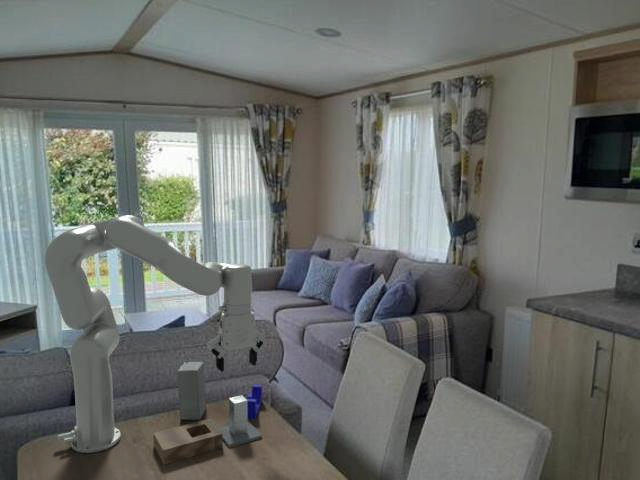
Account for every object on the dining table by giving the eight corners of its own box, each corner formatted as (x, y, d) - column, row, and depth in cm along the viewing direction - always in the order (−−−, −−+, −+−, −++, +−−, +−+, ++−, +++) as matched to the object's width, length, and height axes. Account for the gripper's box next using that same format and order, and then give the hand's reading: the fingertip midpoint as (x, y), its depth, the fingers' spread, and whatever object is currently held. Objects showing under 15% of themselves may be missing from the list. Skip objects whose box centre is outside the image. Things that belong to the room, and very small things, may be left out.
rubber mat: (229, 447, 137) (228, 444, 137) (216, 431, 145) (216, 429, 145) (262, 437, 142) (262, 435, 142) (247, 422, 150) (247, 420, 150)
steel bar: (234, 437, 141) (234, 403, 139) (229, 430, 144) (228, 398, 143) (247, 433, 143) (247, 400, 141) (242, 427, 146) (241, 395, 145)
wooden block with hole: (163, 464, 128) (163, 450, 128) (153, 446, 137) (153, 433, 136) (222, 447, 137) (222, 433, 136) (209, 431, 145) (209, 418, 145)
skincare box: (200, 420, 151) (199, 371, 149) (177, 420, 151) (175, 370, 149) (207, 407, 160) (206, 360, 158) (185, 407, 160) (183, 360, 158)
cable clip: (248, 401, 165) (248, 384, 164) (262, 402, 165) (262, 385, 164) (240, 419, 153) (240, 400, 152) (255, 420, 153) (255, 401, 152)
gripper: (212, 315, 131) (212, 377, 133) (271, 308, 140) (270, 366, 142) (202, 308, 137) (202, 368, 139) (259, 301, 146) (259, 357, 149)
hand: (236, 367), depth 141 cm, fingers open, 9 cm apart
